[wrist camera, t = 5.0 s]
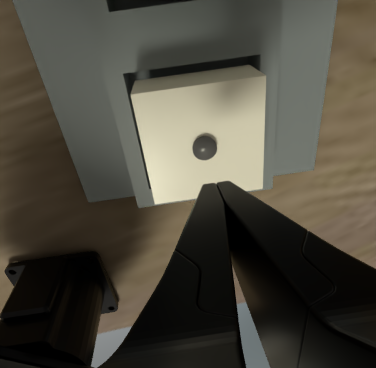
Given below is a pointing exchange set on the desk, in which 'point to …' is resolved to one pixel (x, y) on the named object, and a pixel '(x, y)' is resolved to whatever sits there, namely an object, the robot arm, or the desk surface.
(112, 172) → the board
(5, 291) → the desk surface
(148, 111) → the tile
